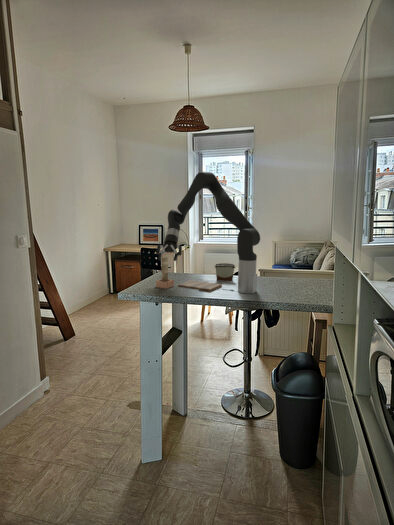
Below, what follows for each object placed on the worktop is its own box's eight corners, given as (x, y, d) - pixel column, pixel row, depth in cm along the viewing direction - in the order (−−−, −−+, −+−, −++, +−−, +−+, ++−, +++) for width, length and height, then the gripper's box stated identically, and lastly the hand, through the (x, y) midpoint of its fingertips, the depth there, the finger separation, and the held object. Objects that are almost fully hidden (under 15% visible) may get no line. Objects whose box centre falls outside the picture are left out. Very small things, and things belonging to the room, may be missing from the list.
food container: (234, 279, 218) (235, 263, 216) (234, 281, 212) (235, 265, 210) (214, 278, 219) (215, 262, 217) (214, 280, 213) (214, 264, 211)
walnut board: (221, 286, 198) (221, 284, 198) (210, 292, 186) (210, 289, 185) (190, 282, 207) (190, 280, 207) (177, 287, 195) (177, 284, 195)
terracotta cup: (173, 286, 196) (173, 279, 195) (166, 289, 190) (166, 282, 189) (163, 285, 200) (163, 278, 199) (155, 287, 193) (155, 280, 193)
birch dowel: (169, 286, 195) (169, 257, 193) (165, 287, 192) (165, 258, 190) (164, 285, 197) (163, 256, 194) (160, 286, 194) (160, 257, 191)
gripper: (158, 233, 205) (153, 255, 195) (182, 233, 202) (178, 256, 193) (161, 241, 211) (156, 263, 202) (184, 242, 208) (180, 264, 199)
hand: (167, 260), depth 197 cm, fingers open, 8 cm apart
